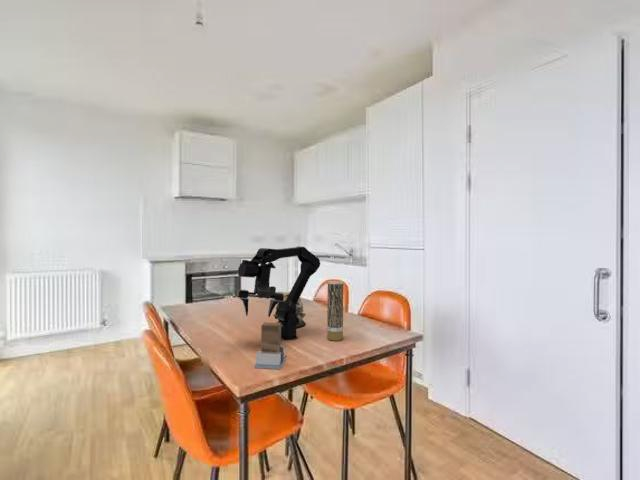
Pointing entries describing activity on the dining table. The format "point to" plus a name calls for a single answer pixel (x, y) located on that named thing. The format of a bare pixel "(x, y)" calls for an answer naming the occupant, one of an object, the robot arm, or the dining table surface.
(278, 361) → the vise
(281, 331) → the robot arm
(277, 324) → the walnut slab
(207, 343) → the dining table surface
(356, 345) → the dining table surface
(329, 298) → the paper tube
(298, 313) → the owl figurine
